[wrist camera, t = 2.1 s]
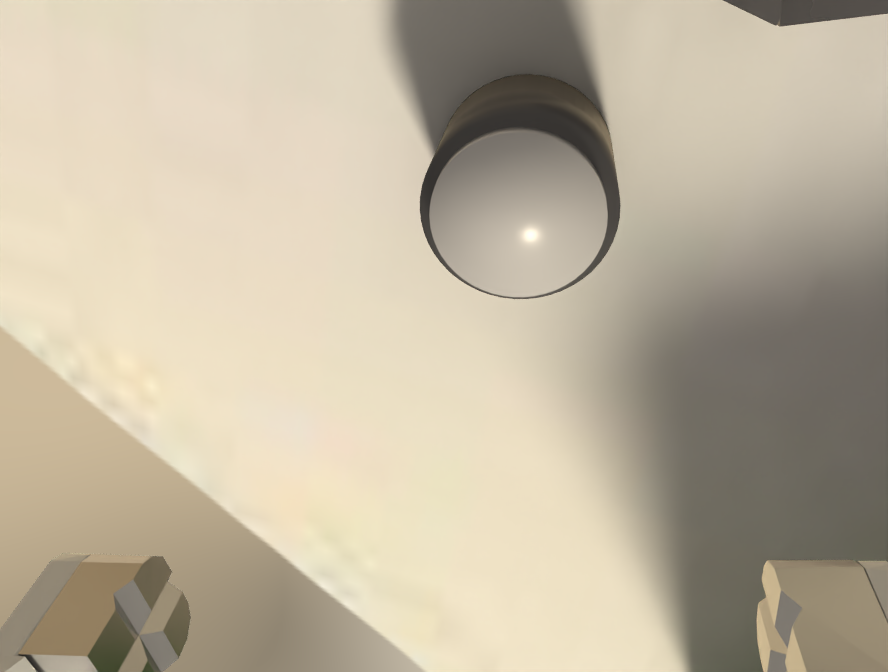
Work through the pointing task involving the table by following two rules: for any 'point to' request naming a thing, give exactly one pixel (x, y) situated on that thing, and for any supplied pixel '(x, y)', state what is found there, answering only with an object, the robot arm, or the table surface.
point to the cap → (522, 189)
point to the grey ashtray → (809, 10)
